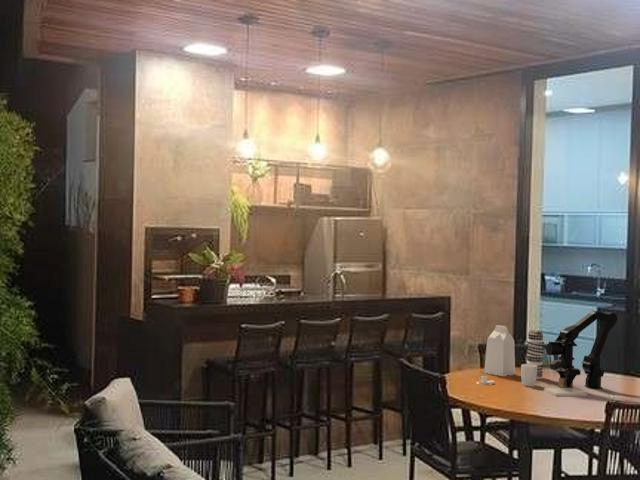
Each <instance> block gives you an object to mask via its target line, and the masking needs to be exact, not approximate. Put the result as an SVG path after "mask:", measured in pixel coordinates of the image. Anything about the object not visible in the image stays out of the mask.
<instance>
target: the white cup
mask: <svg viewBox="0 0 640 480" xmlns="http://www.w3.org/2000/svg"><path fill="white" fill-rule="evenodd" d="M520 371H521V375H520V376H521V377H520V378H521V385H522V386H525V387H535V386H536V382H537V379H536V376H537V365H532V364H527V363H523V364H521V365H520Z"/></svg>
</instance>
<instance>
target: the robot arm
mask: <svg viewBox="0 0 640 480" xmlns="http://www.w3.org/2000/svg"><path fill="white" fill-rule="evenodd" d="M597 320H599V321H598V323H599V329H598V331H597V334H596V337H595V340H594V342H593V346H592V347H591V350H590V353H589V354H588V355H584V357H583V359H582V360H583V361H582V362H581V364H582V365H581V367H582V369H583V372H584V374H585V375H586V377H585V384H584V387H586V388H589V389H603V387H602V377H604V374H605V372H604V371H603V370H602V368H601V363H602V362H601V356H602V353H603V349H604V347H605V344H606V342H607V338H608V336H609V334H610V331H611V330H612V329H613V328H614V327H615V325H616V324H617V322H618V320H619V318H618V315H617V314H616V313H614V312H609V311H602V312H600V311H597V310H590V311H589V312H588V313H587V314H586V315H585V316H583V317H582V318H580V320H578V321H576V322H575V323H574V324H572V325H571V326H567V327H565V328H563V329H561V330H560V331H559V335H558V336H557V338H556V339H555V340H554V341H548V344H547V345H546V347H545V352H546V354H547V355H548V356H558V358H557V359H556V360H555V359H554V360H553V361H549V362H548V364H549V368H550V370H553V371H555V372H556V373H557V374H558V375H559V378H566V383H567V387H570V385H571V383H572V382H573V383H574V380H575V379H576V377H577V376H581V373H582V372H581V369H579V368H576V367H575V366H574V365H573V361H574V360H575V357H574V356H573V355H574V347H577V346H578V345H577V343H576V342H575V341H576V340H577V338H578V337H579V335H580V333H581V332H582V331H583V330H585V329H586V328H588V327H589V326H590V325H592V324H593V323H594V322H595V321H597Z"/></svg>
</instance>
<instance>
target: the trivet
mask: <svg viewBox="0 0 640 480" xmlns="http://www.w3.org/2000/svg"><path fill="white" fill-rule="evenodd" d="M544 392H546V393H548V394H550V395H552V396H555V397H587V396H588V393H587V392H585V391H583V390H580V389H578V388H575V387H574V388H559V387H557V388H555V387H554V388H553V387H549V388H548V387H546V388H544Z"/></svg>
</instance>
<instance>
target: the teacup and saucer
mask: <svg viewBox="0 0 640 480" xmlns="http://www.w3.org/2000/svg"><path fill="white" fill-rule="evenodd" d="M480 378H481V379H480ZM478 380H479V381H476V382H475V383H476V384H477V385H482V386H484V385H488V386H490V385H491V386H492V385H493V384H494V383H495V380H488V376H487V375H481V376H479V377H478ZM479 382H481V384H480V383H479Z"/></svg>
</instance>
